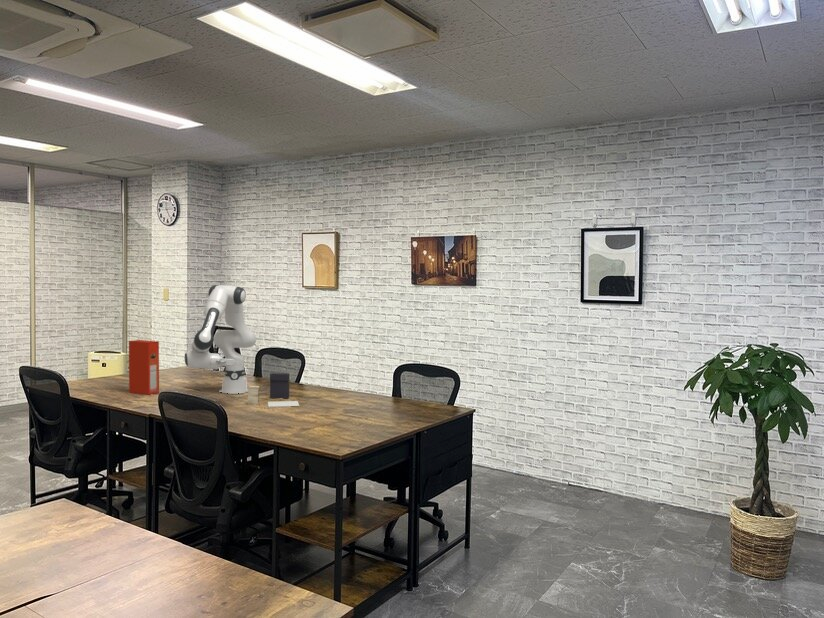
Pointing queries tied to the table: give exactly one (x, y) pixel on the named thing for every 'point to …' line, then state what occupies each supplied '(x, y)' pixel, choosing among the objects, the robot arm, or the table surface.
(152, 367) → the file binder
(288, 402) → the mat
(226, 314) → the robot arm
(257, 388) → the block
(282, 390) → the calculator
